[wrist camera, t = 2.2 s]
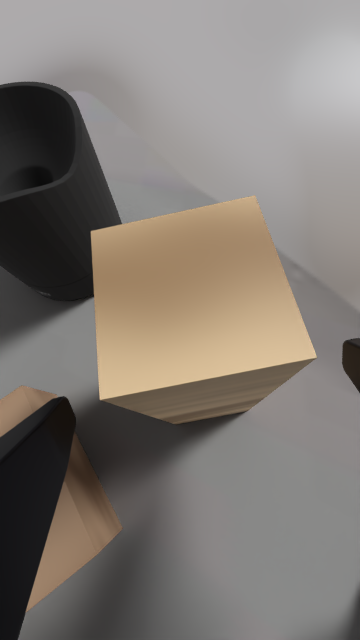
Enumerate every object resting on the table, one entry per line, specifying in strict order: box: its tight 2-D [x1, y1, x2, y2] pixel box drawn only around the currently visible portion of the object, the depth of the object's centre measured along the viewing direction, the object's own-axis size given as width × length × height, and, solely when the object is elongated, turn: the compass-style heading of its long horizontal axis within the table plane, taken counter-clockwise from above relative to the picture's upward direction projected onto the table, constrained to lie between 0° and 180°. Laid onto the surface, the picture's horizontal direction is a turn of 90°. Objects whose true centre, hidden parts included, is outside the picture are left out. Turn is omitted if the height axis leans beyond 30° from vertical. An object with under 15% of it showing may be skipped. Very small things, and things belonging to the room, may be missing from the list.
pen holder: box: [0, 82, 122, 300], centre depth 19 cm, size 9×9×10 cm
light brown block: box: [0, 385, 123, 612], centre depth 15 cm, size 9×9×4 cm
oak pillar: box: [91, 196, 317, 424], centre depth 12 cm, size 4×4×12 cm
